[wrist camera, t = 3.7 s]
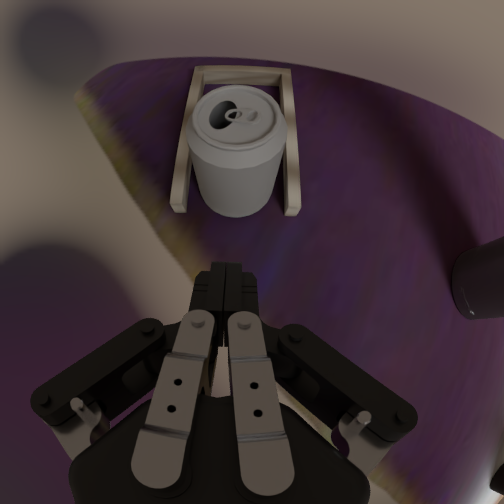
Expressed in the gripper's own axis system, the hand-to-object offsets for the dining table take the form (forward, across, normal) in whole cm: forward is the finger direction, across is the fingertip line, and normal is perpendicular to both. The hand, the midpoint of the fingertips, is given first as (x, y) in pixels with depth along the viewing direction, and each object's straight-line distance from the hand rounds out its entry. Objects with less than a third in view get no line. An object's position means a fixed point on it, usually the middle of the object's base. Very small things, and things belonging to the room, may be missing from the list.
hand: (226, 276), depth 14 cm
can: (+17, 0, +1) cm, 17 cm away
